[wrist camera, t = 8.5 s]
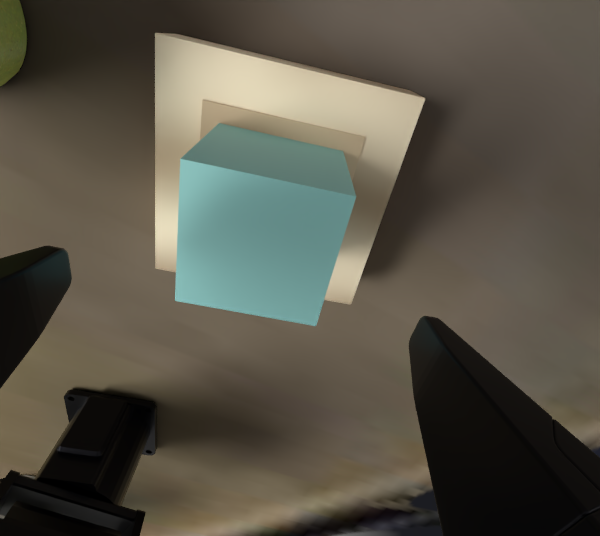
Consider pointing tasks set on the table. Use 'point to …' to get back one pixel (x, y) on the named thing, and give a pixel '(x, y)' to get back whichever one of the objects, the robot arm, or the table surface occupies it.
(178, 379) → the table surface
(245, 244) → the teal cube
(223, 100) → the cream square tray
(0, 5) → the plant pot
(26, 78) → the table surface
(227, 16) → the table surface
